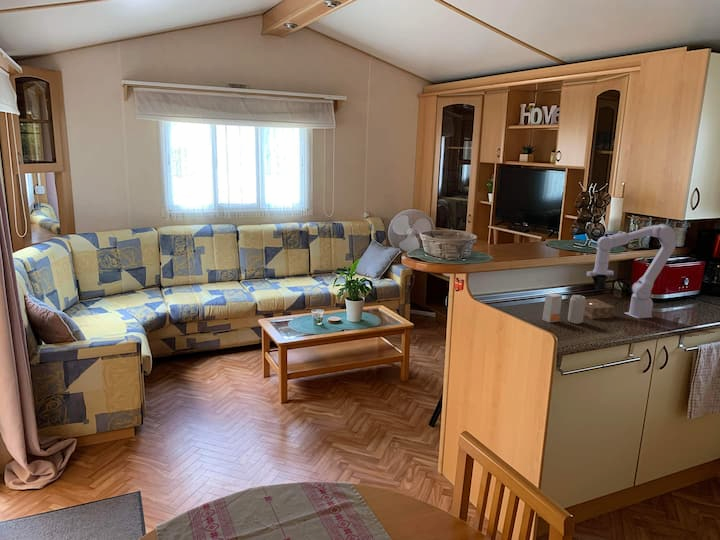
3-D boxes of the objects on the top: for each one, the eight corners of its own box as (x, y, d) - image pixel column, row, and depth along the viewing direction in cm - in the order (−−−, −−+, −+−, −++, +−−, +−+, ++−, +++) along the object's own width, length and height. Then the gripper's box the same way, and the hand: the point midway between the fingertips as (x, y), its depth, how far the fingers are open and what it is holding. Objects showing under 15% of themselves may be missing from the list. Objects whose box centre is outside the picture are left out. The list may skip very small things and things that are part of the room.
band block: (593, 308, 269) (595, 299, 268) (613, 317, 257) (615, 306, 256) (571, 310, 264) (573, 300, 263) (591, 318, 253) (593, 308, 251)
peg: (593, 309, 263) (594, 302, 262) (600, 312, 259) (601, 304, 258) (585, 310, 262) (587, 302, 261) (592, 312, 258) (593, 305, 257)
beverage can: (583, 325, 243) (587, 299, 240) (568, 323, 244) (572, 297, 241) (581, 320, 249) (584, 295, 246) (566, 319, 250) (569, 293, 247)
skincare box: (549, 323, 243) (552, 296, 241) (541, 320, 247) (545, 294, 244) (559, 321, 246) (562, 295, 243) (551, 318, 250) (555, 293, 247)
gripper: (607, 260, 266) (603, 287, 269) (583, 261, 261) (579, 288, 264) (618, 263, 260) (614, 291, 263) (594, 264, 255) (590, 292, 258)
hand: (597, 290), depth 263 cm, fingers closed
